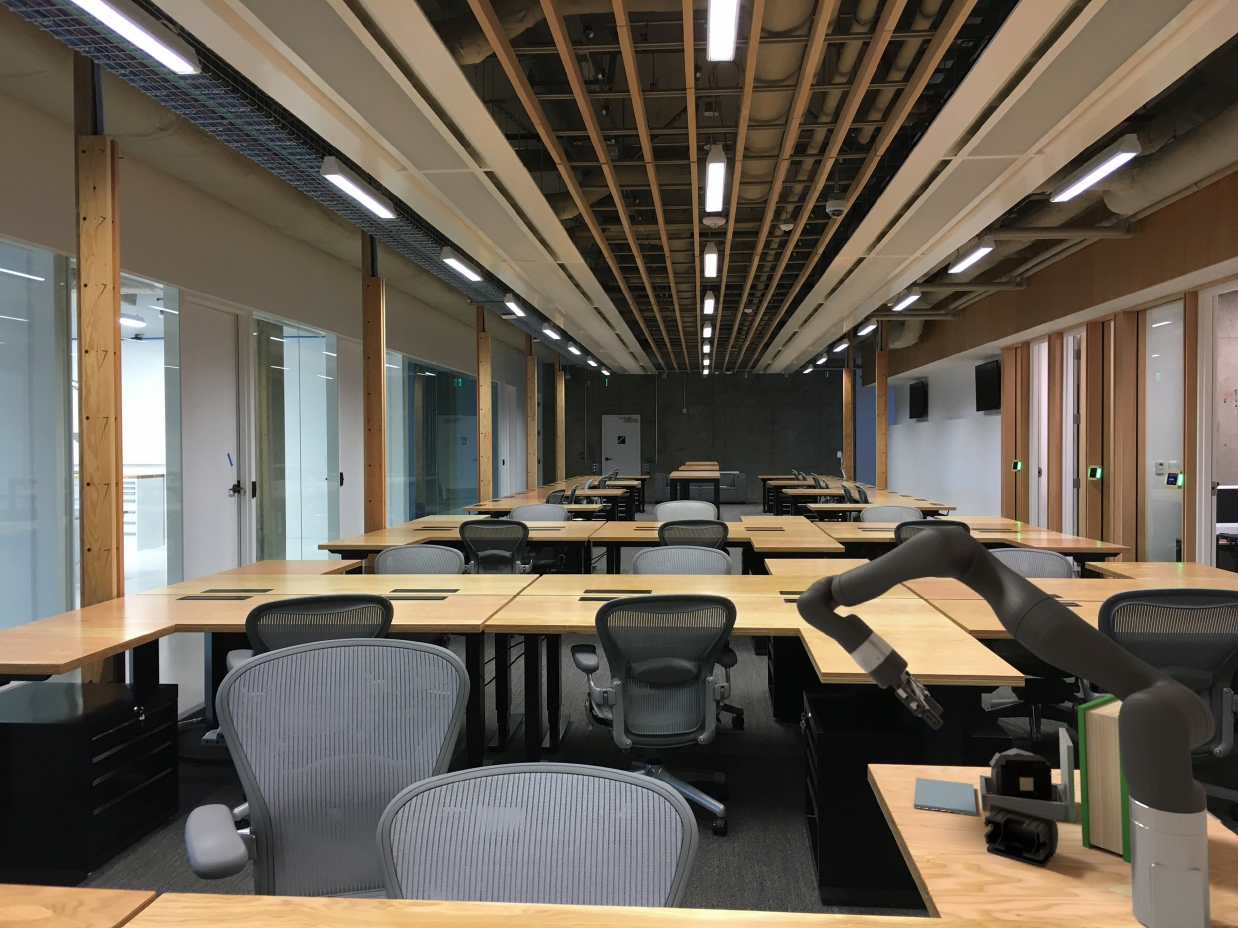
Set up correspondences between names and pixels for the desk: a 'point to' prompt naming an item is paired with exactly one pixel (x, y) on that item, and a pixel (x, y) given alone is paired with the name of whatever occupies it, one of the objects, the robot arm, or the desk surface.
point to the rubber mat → (945, 796)
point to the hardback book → (1103, 778)
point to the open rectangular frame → (1049, 809)
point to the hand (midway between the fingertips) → (939, 720)
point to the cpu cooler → (1022, 775)
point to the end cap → (1021, 835)
